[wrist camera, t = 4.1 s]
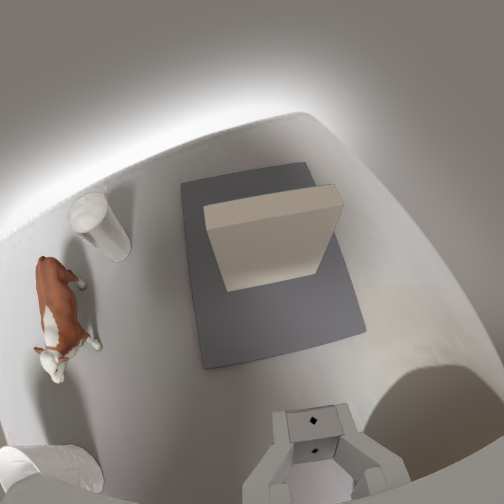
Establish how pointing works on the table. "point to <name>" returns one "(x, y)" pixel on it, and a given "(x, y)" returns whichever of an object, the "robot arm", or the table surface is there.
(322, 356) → the table surface
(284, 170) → the mat
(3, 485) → the white cup
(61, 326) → the bull figurine
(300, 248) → the tile
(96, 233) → the milkshake
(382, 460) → the robot arm
